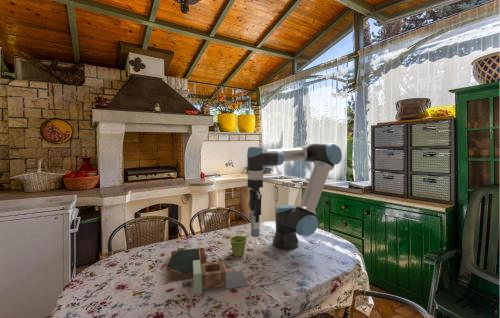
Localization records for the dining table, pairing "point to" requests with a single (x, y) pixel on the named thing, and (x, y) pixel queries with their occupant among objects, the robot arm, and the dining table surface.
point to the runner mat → (231, 281)
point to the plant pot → (238, 245)
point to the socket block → (213, 275)
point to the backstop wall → (197, 276)
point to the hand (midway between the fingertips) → (255, 226)
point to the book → (185, 262)
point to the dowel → (253, 231)
